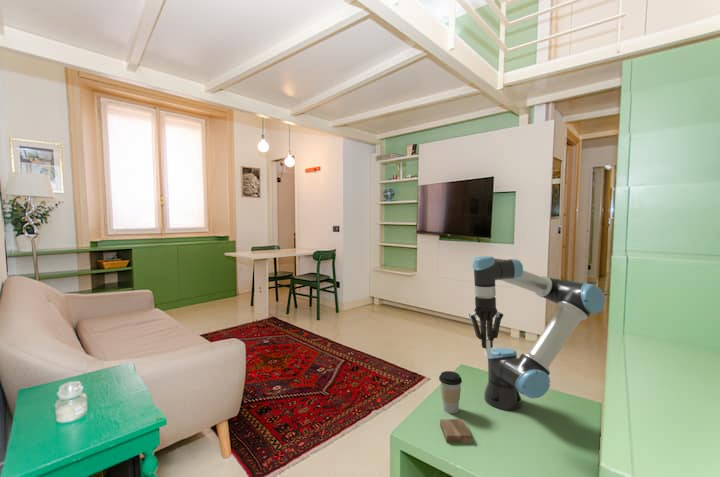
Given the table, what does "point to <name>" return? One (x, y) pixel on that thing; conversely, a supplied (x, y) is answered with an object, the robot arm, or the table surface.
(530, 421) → the table surface
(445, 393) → the coffee cup
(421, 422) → the table surface
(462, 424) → the wooden block
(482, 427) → the table surface
